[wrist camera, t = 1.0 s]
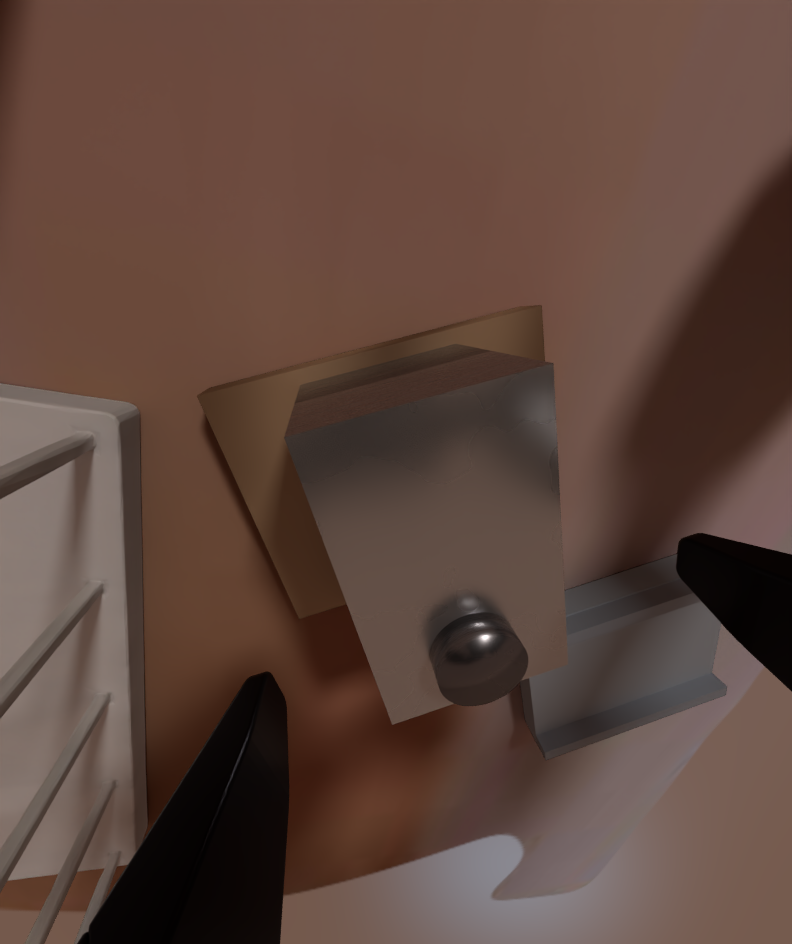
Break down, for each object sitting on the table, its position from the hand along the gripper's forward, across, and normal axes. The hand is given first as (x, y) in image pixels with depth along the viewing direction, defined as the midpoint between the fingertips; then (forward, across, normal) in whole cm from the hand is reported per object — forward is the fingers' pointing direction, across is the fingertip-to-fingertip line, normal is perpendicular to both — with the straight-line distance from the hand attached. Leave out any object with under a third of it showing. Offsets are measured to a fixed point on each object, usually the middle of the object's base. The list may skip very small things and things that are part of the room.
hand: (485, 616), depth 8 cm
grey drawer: (+7, 0, 0) cm, 7 cm away
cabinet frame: (+9, -10, +15) cm, 20 cm away
